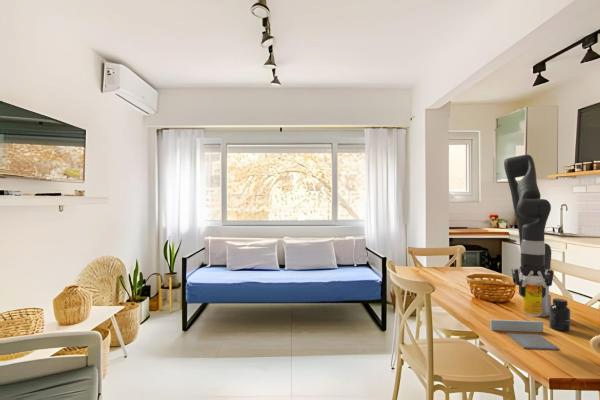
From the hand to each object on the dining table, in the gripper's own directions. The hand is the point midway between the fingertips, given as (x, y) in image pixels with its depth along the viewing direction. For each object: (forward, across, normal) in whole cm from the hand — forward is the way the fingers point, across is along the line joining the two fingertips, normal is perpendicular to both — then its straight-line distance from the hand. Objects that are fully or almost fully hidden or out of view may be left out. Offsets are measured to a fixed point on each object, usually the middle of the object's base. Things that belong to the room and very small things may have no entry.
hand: (532, 296), depth 128 cm
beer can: (+7, 0, 0) cm, 7 cm away
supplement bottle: (+17, -19, -15) cm, 30 cm away
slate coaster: (+17, 0, 0) cm, 17 cm away
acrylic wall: (+17, 0, -11) cm, 20 cm away
